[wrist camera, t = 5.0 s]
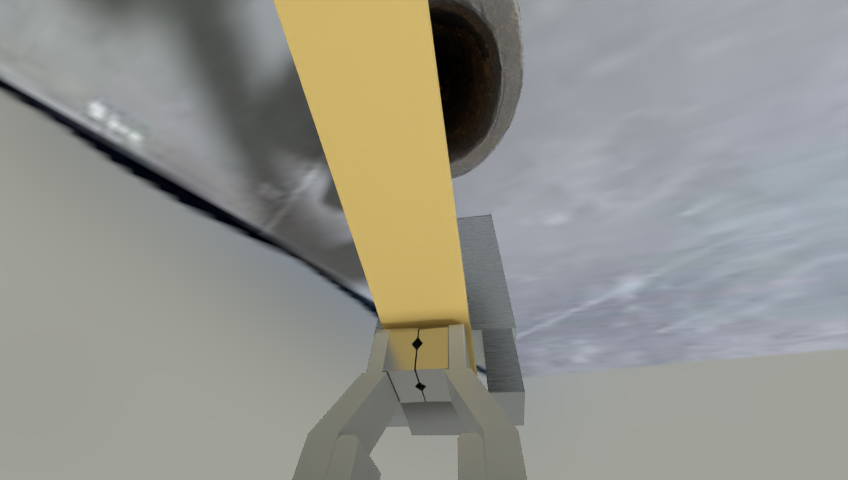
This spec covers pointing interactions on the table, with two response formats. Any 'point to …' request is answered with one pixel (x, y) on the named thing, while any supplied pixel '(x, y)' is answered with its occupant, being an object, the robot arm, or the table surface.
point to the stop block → (487, 318)
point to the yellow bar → (387, 161)
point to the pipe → (476, 74)
